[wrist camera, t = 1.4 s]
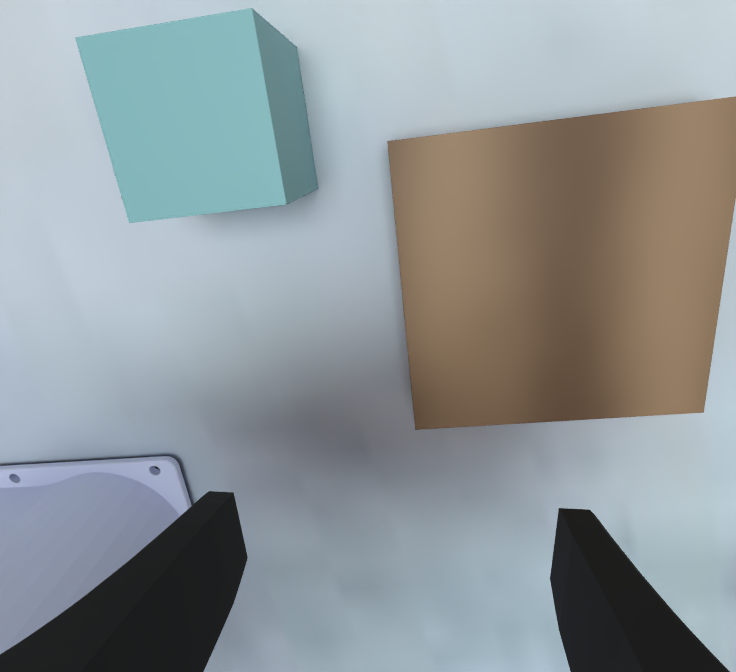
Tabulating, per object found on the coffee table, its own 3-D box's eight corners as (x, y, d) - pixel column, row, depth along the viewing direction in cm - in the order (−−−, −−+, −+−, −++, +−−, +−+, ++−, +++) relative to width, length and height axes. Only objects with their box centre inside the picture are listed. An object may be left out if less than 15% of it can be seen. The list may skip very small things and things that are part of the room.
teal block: (200, 202, 18) (129, 222, 14) (168, 67, 17) (75, 37, 12) (318, 188, 18) (286, 204, 13) (297, 47, 16) (251, 8, 11)
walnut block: (414, 391, 21) (415, 429, 18) (390, 141, 17) (387, 141, 14) (661, 374, 20) (703, 412, 17) (691, 102, 16) (750, 94, 13)
